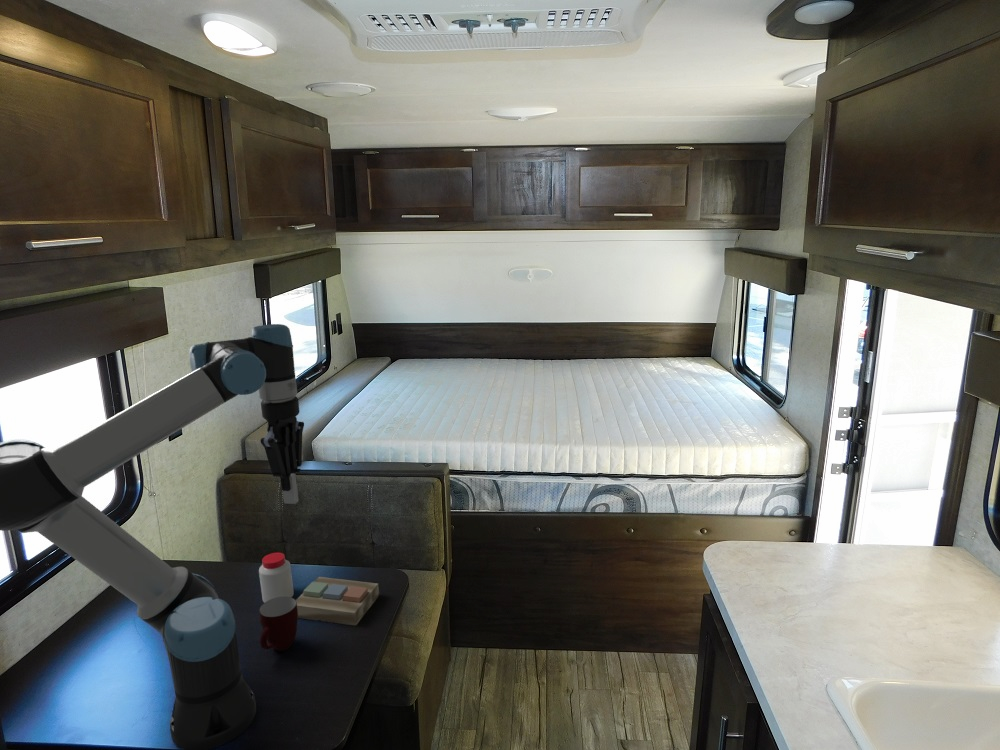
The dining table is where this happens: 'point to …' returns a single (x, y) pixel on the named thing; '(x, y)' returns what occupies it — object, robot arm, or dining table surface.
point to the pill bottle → (275, 577)
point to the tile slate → (335, 592)
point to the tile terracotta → (355, 594)
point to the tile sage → (315, 589)
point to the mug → (278, 623)
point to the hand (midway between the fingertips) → (291, 502)
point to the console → (337, 604)
